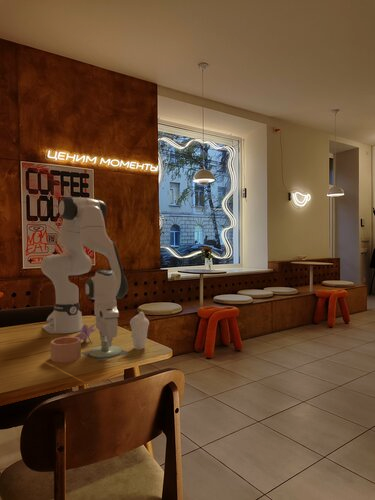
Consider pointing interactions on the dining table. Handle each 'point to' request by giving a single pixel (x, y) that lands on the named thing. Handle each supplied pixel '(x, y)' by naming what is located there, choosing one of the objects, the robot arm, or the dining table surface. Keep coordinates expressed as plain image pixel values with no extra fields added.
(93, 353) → the lid
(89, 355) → the mat
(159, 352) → the dining table surface
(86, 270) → the robot arm
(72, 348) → the bowl
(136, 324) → the soft serve ice cream cone
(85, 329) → the lily
